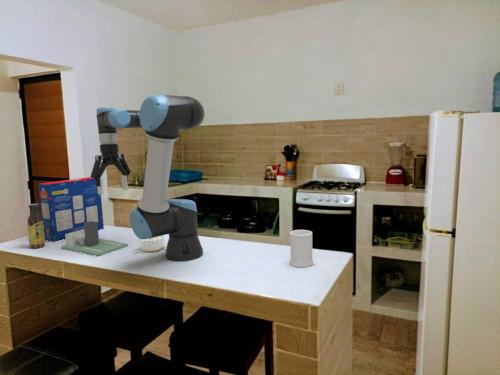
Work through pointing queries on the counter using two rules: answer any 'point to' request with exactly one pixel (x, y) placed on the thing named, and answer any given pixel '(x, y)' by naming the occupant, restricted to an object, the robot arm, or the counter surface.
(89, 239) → the striker
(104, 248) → the pitch
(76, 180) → the pasta box
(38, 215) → the sauce bottle
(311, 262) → the mug
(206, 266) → the counter surface
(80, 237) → the ball
